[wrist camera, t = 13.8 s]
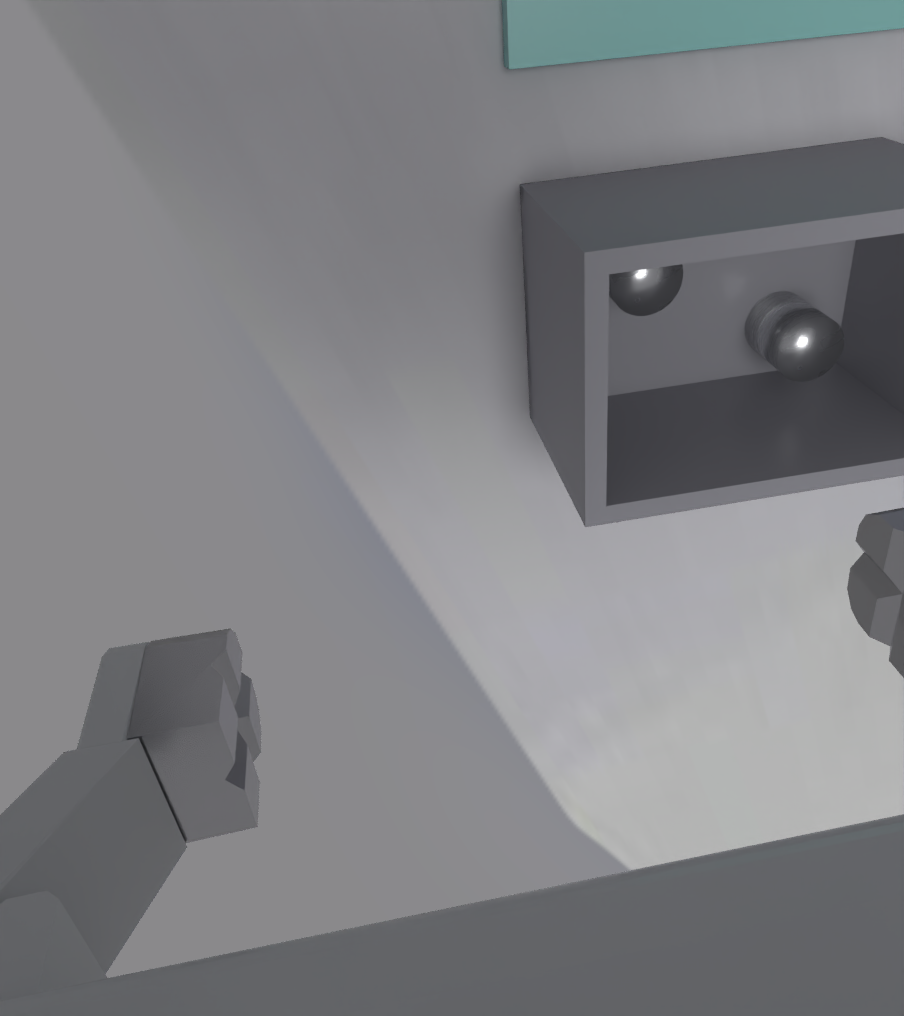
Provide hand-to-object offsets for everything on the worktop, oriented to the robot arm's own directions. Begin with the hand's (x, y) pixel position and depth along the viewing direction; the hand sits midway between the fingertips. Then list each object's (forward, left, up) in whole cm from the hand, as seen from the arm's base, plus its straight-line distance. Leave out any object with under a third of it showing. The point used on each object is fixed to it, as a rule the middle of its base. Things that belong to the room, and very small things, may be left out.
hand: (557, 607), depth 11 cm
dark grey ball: (+7, +12, -35) cm, 37 cm away
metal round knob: (+12, +21, -35) cm, 42 cm away
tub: (+10, +17, -35) cm, 40 cm away
